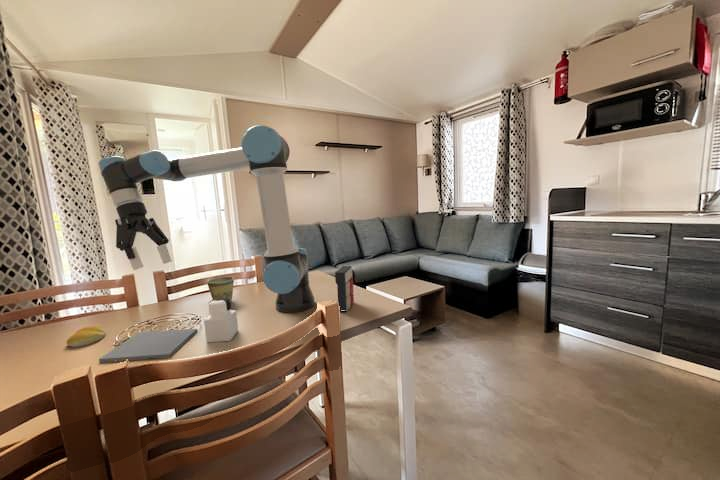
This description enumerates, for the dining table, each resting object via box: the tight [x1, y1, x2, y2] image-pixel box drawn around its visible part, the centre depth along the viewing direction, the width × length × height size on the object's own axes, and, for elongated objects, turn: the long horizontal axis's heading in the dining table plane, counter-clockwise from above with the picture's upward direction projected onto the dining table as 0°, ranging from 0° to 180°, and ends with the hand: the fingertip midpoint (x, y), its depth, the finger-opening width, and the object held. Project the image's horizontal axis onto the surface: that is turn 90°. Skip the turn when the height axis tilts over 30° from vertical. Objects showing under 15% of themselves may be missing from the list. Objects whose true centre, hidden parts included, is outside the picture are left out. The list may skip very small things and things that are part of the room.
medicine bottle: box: [203, 298, 239, 343], centre depth 90 cm, size 7×7×12 cm
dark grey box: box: [334, 265, 355, 311], centre depth 112 cm, size 11×4×15 cm, turn 168°
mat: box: [98, 328, 198, 363], centre depth 87 cm, size 18×16×1 cm
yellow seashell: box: [66, 325, 106, 348], centre depth 91 cm, size 8×9×4 cm
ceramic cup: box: [206, 276, 235, 304], centre depth 123 cm, size 13×10×10 cm
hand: (154, 265), depth 97 cm, fingers open, 13 cm apart
